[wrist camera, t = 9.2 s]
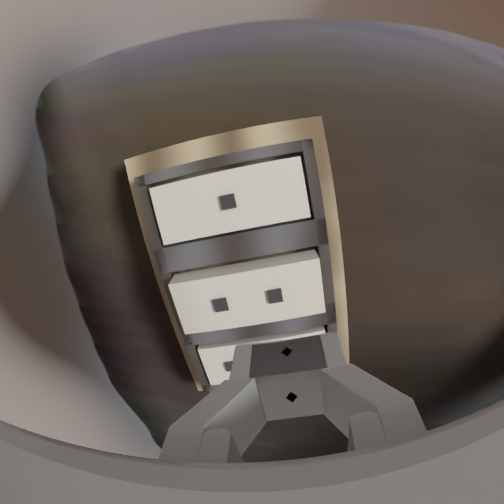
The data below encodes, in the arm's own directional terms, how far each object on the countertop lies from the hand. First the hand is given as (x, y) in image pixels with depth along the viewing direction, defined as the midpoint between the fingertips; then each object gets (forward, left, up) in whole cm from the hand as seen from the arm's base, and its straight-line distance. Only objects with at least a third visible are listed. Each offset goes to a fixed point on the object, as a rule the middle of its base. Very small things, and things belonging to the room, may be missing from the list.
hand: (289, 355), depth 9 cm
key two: (+3, +4, -14) cm, 15 cm away
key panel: (+3, +4, -19) cm, 19 cm away
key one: (+3, -3, -16) cm, 16 cm away
